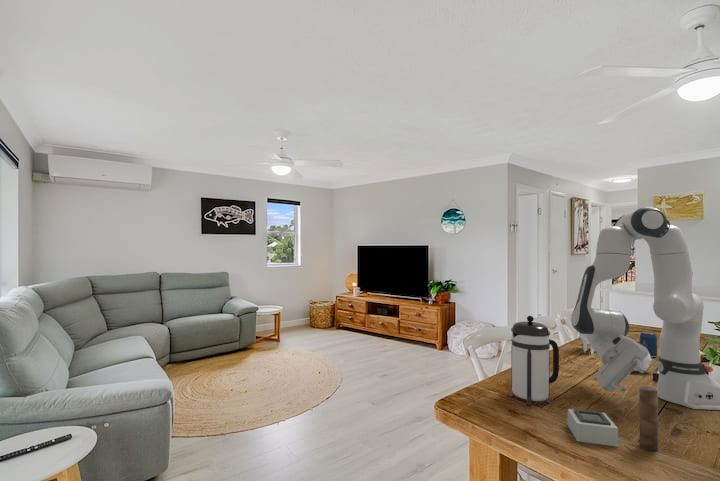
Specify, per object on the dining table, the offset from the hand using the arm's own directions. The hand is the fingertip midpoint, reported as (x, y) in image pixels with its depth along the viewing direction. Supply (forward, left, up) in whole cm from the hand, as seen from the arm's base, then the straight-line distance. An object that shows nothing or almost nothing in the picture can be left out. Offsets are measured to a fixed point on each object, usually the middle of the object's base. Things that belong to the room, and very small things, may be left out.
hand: (632, 381), depth 124 cm
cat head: (-20, -51, -11) cm, 56 cm away
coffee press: (+30, -3, -11) cm, 32 cm away
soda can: (-37, -80, -11) cm, 89 cm away
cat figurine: (-11, -79, -11) cm, 80 cm away
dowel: (+5, +24, -10) cm, 27 cm away
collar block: (+18, +21, -10) cm, 30 cm away
